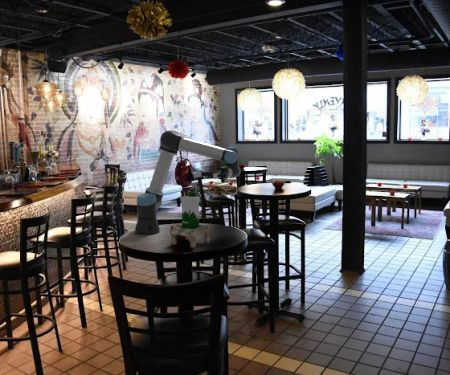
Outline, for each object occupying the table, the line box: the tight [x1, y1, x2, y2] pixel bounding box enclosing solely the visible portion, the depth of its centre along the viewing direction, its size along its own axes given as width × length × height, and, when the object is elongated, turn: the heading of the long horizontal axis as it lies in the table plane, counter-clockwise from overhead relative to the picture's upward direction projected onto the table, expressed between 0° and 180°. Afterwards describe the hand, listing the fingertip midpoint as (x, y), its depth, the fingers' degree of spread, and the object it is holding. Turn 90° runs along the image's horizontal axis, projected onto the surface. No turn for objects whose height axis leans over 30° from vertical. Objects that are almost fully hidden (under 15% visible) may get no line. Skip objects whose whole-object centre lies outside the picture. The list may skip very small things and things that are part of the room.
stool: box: [169, 223, 211, 249], centre depth 253 cm, size 16×16×10 cm
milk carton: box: [179, 191, 201, 229], centre depth 252 cm, size 9×9×20 cm
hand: (203, 175), depth 265 cm, fingers open, 13 cm apart
